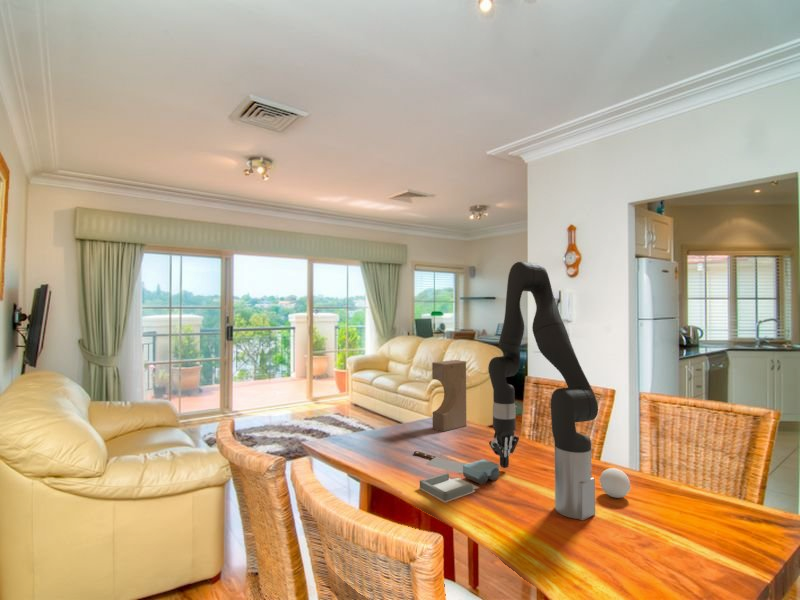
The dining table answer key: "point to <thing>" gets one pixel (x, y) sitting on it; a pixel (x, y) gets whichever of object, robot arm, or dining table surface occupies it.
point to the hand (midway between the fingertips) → (504, 466)
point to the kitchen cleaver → (442, 462)
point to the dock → (446, 487)
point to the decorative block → (450, 395)
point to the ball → (615, 483)
